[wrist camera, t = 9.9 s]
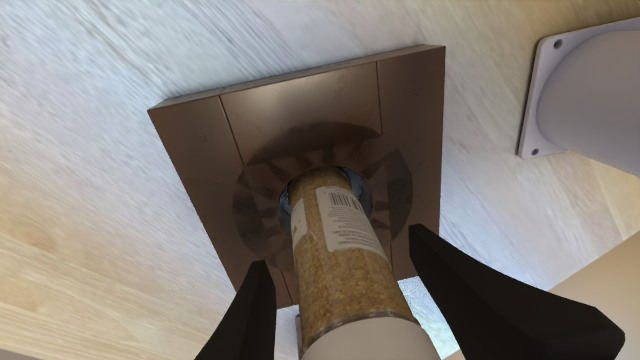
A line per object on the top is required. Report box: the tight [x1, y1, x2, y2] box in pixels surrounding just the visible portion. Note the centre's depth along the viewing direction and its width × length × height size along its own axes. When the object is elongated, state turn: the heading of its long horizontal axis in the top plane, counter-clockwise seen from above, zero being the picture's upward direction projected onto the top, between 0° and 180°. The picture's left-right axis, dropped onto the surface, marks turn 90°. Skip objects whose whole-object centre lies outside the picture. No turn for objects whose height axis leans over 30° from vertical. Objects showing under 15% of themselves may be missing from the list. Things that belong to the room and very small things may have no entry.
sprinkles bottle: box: [288, 165, 441, 360], centre depth 14 cm, size 5×5×14 cm
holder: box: [147, 44, 446, 309], centre depth 18 cm, size 15×16×2 cm
